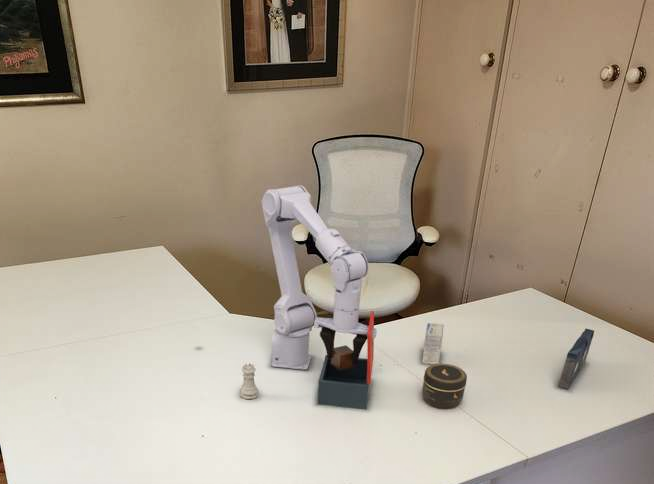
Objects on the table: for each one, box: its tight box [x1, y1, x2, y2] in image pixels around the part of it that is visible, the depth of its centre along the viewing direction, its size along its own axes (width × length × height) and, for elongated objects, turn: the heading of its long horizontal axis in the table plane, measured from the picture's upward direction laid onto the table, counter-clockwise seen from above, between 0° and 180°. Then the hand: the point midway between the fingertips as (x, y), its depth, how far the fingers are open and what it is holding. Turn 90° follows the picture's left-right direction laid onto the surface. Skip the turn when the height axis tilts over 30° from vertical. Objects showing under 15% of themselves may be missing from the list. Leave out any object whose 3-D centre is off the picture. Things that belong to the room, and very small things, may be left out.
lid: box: [366, 310, 375, 386], centre depth 145 cm, size 12×14×1 cm
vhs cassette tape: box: [558, 328, 595, 390], centre depth 161 cm, size 18×3×10 cm, turn 145°
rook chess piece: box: [239, 363, 259, 401], centre depth 147 cm, size 4×4×8 cm
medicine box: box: [421, 322, 444, 365], centre depth 167 cm, size 8×4×9 cm, turn 168°
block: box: [331, 344, 354, 370], centre depth 147 cm, size 4×4×4 cm
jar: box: [421, 363, 468, 410], centre depth 149 cm, size 10×10×8 cm
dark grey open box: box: [317, 354, 370, 410], centre depth 150 cm, size 12×14×6 cm
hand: (342, 359), depth 147 cm, fingers closed on block, 5 cm apart
